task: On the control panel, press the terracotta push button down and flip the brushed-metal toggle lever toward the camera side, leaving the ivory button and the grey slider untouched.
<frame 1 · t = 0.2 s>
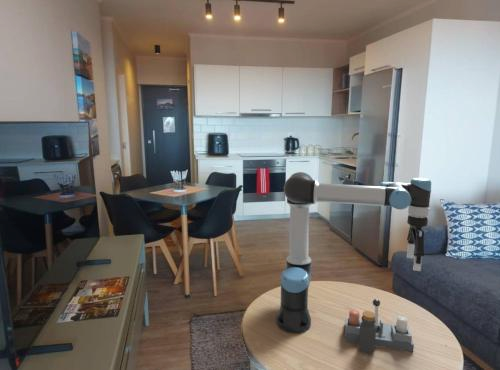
hand: (413, 263, 141), 28 cm above the table, fingers open, 13 cm apart
lever: (376, 314, 138), point 8 cm above the table, hinge at -30.0°
slider grey: (369, 331, 133), point 5 cm above the table, slide at -2.0 cm
bottle: (366, 350, 129), on the table
button ivory: (401, 324, 131), point 8 cm above the table, slide at 0.0 cm
panel: (376, 337, 137), on the table
button terracotta: (354, 317, 136), point 8 cm above the table, slide at 0.0 cm
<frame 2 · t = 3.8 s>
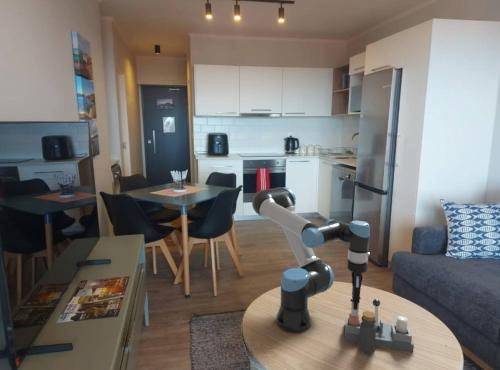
hand: (354, 315, 135), 10 cm above the table, fingers closed
button terracotta: (353, 321, 136), point 7 cm above the table, slide at 1.4 cm, touching gripper
everything else where it was.
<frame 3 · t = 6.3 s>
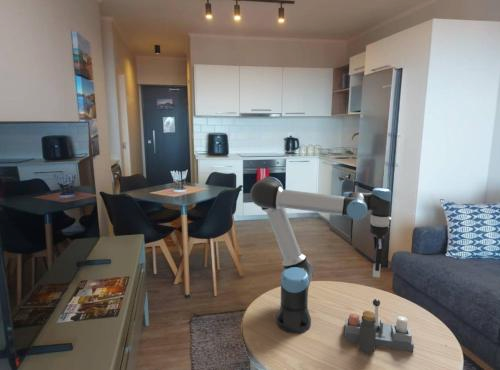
hand: (376, 276, 146), 20 cm above the table, fingers closed
button terracotta: (353, 321, 136), point 6 cm above the table, slide at 1.8 cm
everything else where it was.
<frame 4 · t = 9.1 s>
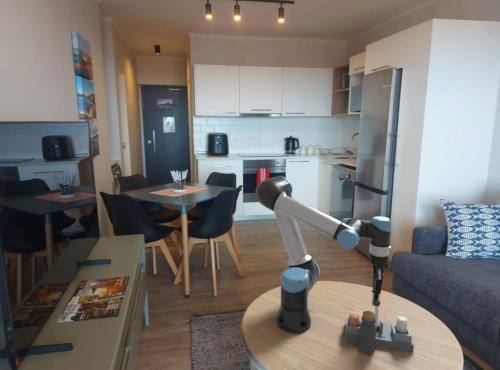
hand: (375, 305, 143), 10 cm above the table, fingers closed
lever: (376, 314, 138), point 9 cm above the table, hinge at -27.9°, touching gripper
everything else where it was.
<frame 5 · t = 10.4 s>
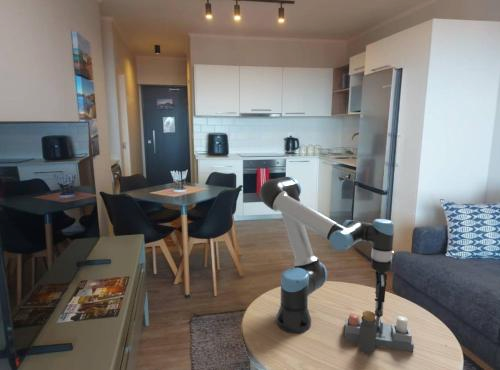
hand: (378, 314, 134), 10 cm above the table, fingers closed
lever: (377, 319, 134), point 9 cm above the table, hinge at 24.3°, touching gripper
everything else where it was.
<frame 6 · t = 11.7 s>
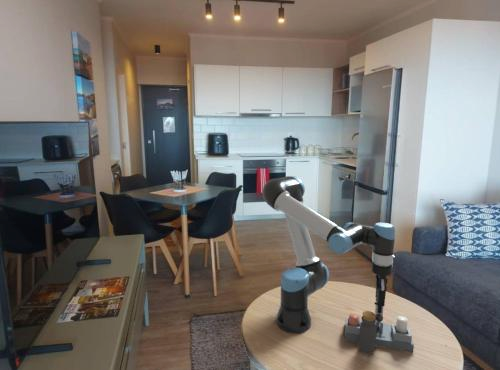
hand: (378, 318, 133), 10 cm above the table, fingers closed
lever: (377, 322, 133), point 8 cm above the table, hinge at 36.2°, touching gripper
everything else where it was.
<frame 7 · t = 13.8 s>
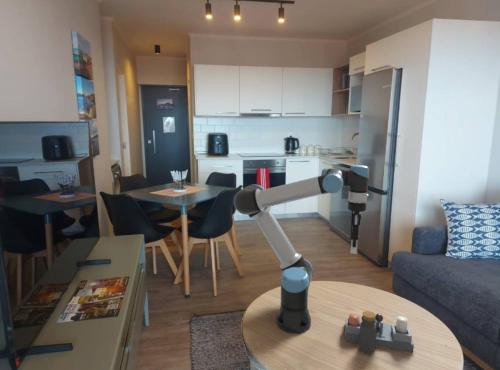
hand: (353, 253, 147), 30 cm above the table, fingers closed
lever: (377, 322, 133), point 8 cm above the table, hinge at 36.3°
everything else where it was.
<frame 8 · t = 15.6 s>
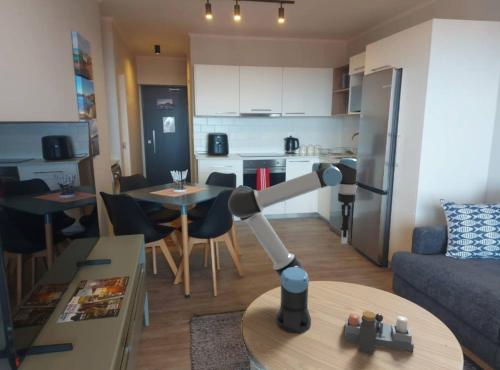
hand: (344, 243, 153), 32 cm above the table, fingers closed
nothing on the table moved.
at the end: button terracotta slide at 1.8 cm; lever at +36° (first picture: -30°); button ivory slide at 0.0 cm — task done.
